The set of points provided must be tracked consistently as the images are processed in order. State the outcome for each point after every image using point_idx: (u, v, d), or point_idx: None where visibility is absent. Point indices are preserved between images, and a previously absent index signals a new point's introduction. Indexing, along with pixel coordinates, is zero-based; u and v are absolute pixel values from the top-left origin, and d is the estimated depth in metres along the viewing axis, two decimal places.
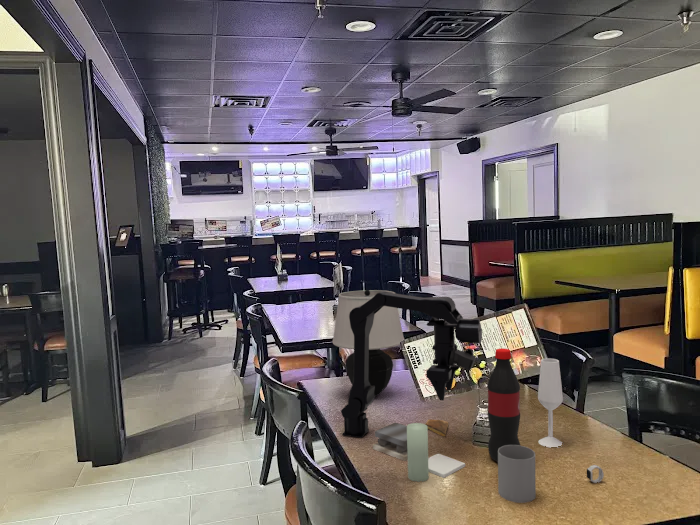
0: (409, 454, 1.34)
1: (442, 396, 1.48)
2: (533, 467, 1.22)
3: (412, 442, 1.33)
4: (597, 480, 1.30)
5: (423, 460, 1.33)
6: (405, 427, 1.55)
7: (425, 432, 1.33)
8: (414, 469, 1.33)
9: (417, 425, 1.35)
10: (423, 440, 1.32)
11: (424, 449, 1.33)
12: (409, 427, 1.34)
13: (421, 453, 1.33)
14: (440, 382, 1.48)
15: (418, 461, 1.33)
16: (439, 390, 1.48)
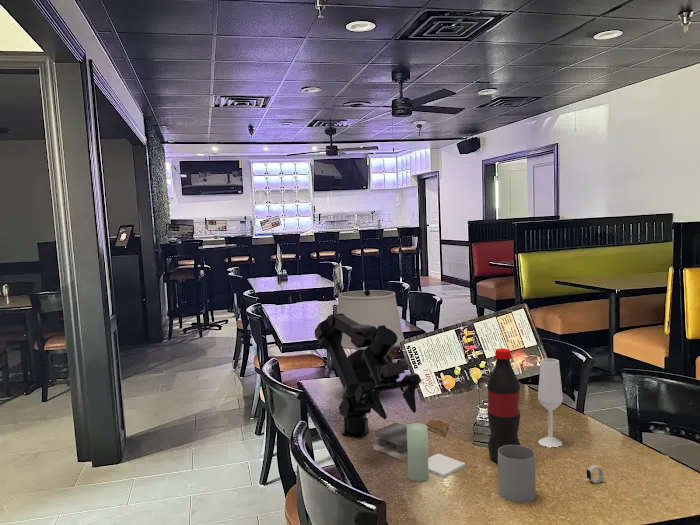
0: (409, 454, 1.34)
1: (382, 414, 1.40)
2: (533, 467, 1.22)
3: (412, 442, 1.33)
4: (597, 480, 1.30)
5: (423, 460, 1.33)
6: (405, 427, 1.55)
7: (425, 432, 1.33)
8: (414, 469, 1.33)
9: (417, 425, 1.35)
10: (423, 440, 1.32)
11: (424, 449, 1.33)
12: (409, 427, 1.34)
13: (421, 453, 1.33)
14: (374, 401, 1.42)
15: (418, 461, 1.33)
16: (377, 409, 1.41)
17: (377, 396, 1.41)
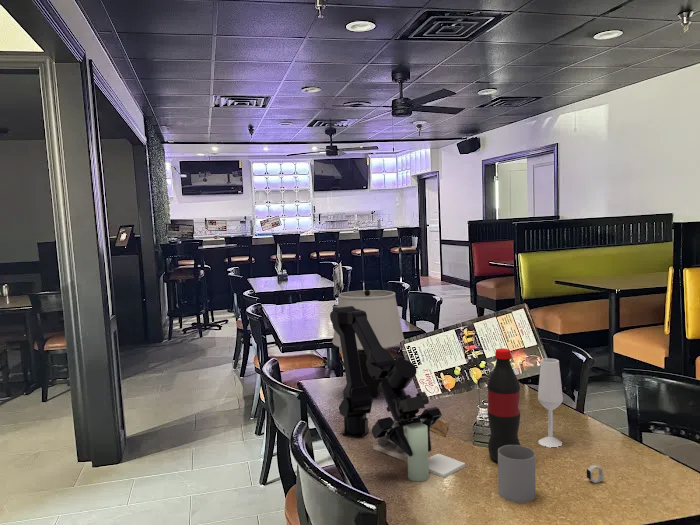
0: None
1: (408, 451, 1.33)
2: (533, 467, 1.22)
3: (412, 442, 1.33)
4: (597, 480, 1.30)
5: (423, 460, 1.33)
6: (405, 427, 1.55)
7: (425, 432, 1.33)
8: (414, 469, 1.33)
9: (417, 425, 1.35)
10: (423, 440, 1.32)
11: (424, 449, 1.33)
12: (409, 427, 1.34)
13: (421, 453, 1.32)
14: (399, 436, 1.35)
15: (418, 461, 1.33)
16: (402, 445, 1.34)
17: (402, 431, 1.34)
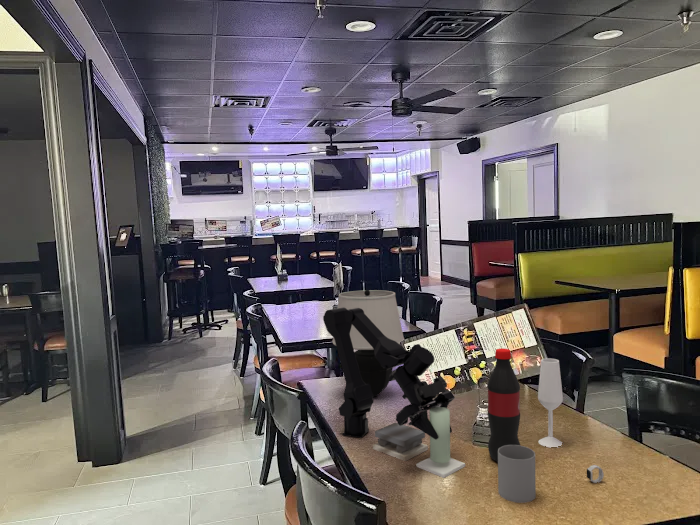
0: None
1: (433, 434, 1.37)
2: (533, 467, 1.22)
3: (437, 425, 1.38)
4: (597, 480, 1.30)
5: (447, 442, 1.38)
6: (405, 427, 1.55)
7: (449, 414, 1.39)
8: (439, 451, 1.38)
9: (439, 409, 1.41)
10: (447, 422, 1.38)
11: (448, 430, 1.38)
12: (433, 411, 1.39)
13: (446, 435, 1.38)
14: (422, 421, 1.39)
15: (443, 443, 1.38)
16: (427, 430, 1.38)
17: (426, 416, 1.39)
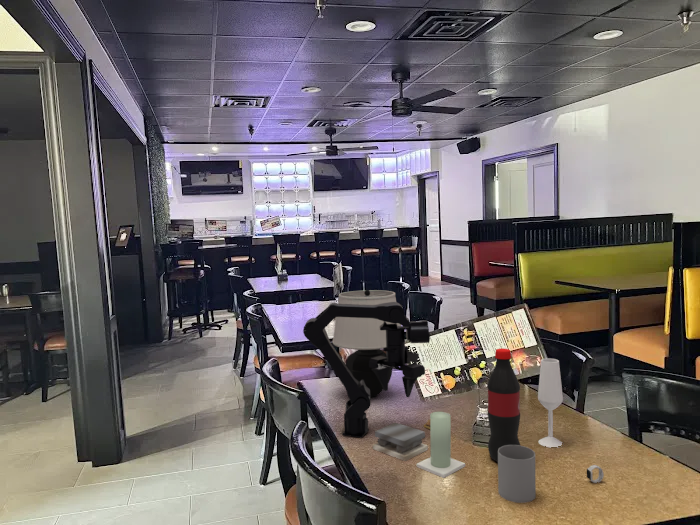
0: (434, 442, 1.39)
1: (410, 393, 1.61)
2: (533, 467, 1.22)
3: (438, 430, 1.38)
4: (597, 480, 1.30)
5: (448, 447, 1.38)
6: (405, 427, 1.55)
7: (449, 420, 1.38)
8: (439, 456, 1.38)
9: (440, 414, 1.40)
10: (448, 428, 1.38)
11: (448, 436, 1.38)
12: (433, 416, 1.39)
13: (446, 440, 1.38)
14: (410, 380, 1.60)
15: (443, 448, 1.38)
16: (409, 388, 1.60)
17: None
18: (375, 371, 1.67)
